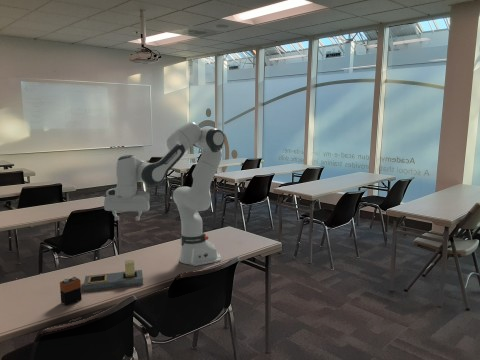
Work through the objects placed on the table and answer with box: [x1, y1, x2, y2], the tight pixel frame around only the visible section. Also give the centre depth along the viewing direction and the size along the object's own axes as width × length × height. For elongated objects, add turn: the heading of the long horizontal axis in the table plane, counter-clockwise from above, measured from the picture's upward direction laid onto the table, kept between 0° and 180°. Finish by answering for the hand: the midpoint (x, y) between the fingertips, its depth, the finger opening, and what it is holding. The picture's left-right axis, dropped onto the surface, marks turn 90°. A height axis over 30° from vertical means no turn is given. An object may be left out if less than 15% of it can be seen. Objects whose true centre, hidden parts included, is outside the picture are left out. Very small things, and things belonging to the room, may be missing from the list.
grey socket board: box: [83, 269, 144, 293], centre depth 170 cm, size 25×10×3 cm, turn 108°
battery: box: [59, 276, 83, 306], centre depth 152 cm, size 4×7×10 cm, turn 141°
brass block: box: [124, 259, 136, 278], centre depth 171 cm, size 4×4×9 cm
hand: (127, 220), depth 172 cm, fingers open, 8 cm apart
